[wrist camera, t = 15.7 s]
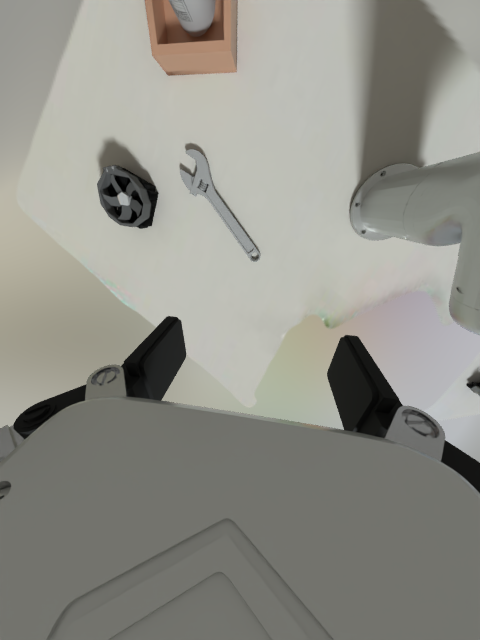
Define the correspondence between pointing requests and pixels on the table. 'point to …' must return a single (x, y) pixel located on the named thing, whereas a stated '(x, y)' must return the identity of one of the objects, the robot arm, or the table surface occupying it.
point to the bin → (193, 40)
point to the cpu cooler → (127, 197)
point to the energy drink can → (194, 15)
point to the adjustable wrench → (216, 200)
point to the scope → (475, 388)
